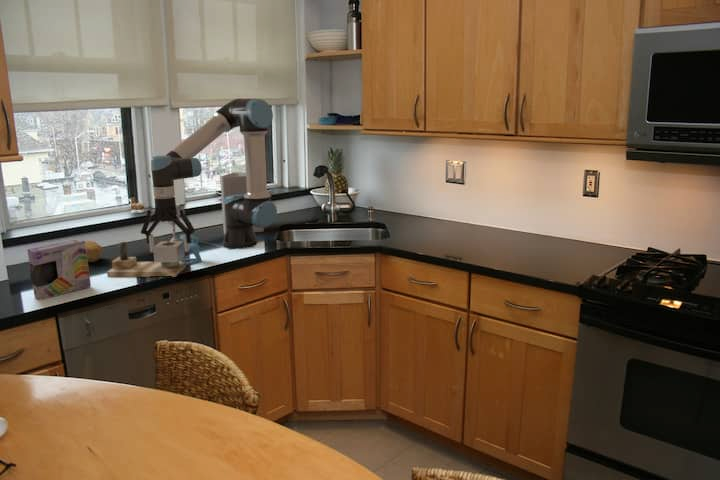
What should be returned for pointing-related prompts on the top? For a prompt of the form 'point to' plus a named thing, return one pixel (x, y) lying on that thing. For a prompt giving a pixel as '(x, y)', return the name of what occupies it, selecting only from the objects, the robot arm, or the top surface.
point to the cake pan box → (59, 268)
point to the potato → (93, 251)
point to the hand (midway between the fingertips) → (169, 251)
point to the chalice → (174, 225)
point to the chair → (194, 248)
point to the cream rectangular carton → (234, 191)
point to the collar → (169, 251)
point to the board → (142, 266)
